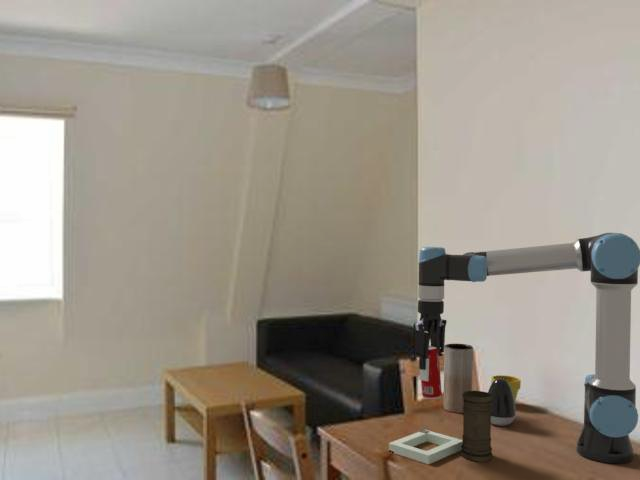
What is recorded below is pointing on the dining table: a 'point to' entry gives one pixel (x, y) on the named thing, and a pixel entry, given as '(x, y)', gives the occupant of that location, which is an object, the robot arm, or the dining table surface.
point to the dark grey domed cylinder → (502, 403)
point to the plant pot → (510, 383)
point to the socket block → (408, 450)
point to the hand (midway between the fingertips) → (428, 378)
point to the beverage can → (432, 376)
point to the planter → (457, 375)
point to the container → (477, 426)
